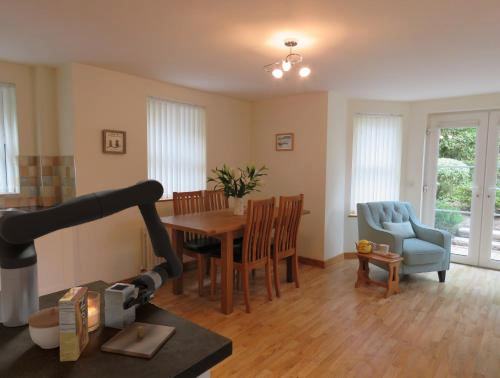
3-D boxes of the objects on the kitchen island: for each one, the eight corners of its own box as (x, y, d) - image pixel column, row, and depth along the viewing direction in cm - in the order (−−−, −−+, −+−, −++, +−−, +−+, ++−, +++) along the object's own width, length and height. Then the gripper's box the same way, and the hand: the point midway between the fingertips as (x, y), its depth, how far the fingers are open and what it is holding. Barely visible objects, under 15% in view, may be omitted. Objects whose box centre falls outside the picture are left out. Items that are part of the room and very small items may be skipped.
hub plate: (101, 350, 85) (100, 337, 85) (132, 324, 99) (132, 313, 99) (150, 358, 82) (149, 344, 82) (175, 330, 96) (175, 319, 95)
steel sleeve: (105, 326, 98) (104, 290, 97) (117, 317, 104) (117, 282, 103) (123, 329, 96) (122, 292, 95) (135, 319, 102) (134, 284, 101)
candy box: (72, 342, 89) (71, 286, 88) (89, 341, 90) (88, 286, 88) (59, 362, 80) (57, 300, 79) (78, 360, 81) (76, 299, 80)
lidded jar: (69, 328, 96) (68, 297, 96) (81, 343, 89) (80, 309, 88) (25, 342, 89) (23, 308, 88) (34, 359, 81) (33, 322, 81)
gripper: (126, 272, 115) (93, 290, 98) (165, 276, 111) (136, 295, 95) (127, 293, 115) (94, 315, 99) (165, 297, 112) (137, 320, 96)
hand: (115, 305), depth 97 cm, fingers closed on steel sleeve, 6 cm apart
